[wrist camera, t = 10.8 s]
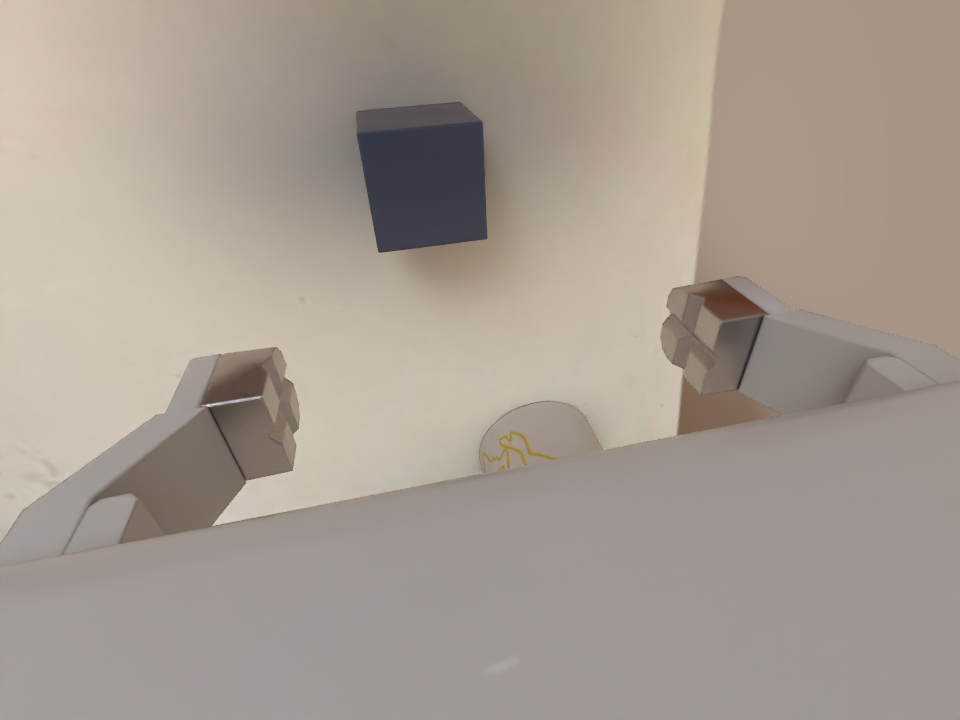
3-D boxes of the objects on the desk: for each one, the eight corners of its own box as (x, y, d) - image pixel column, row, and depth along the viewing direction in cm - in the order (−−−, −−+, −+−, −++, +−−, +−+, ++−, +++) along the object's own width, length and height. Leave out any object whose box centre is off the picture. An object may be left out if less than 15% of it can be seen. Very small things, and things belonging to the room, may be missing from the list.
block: (356, 110, 21) (356, 133, 17) (461, 101, 21) (483, 121, 18) (374, 215, 23) (378, 253, 20) (467, 204, 24) (487, 239, 20)
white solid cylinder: (516, 388, 31) (586, 555, 22) (611, 417, 35) (707, 572, 25) (459, 473, 35) (498, 648, 25) (550, 492, 38) (615, 652, 29)
